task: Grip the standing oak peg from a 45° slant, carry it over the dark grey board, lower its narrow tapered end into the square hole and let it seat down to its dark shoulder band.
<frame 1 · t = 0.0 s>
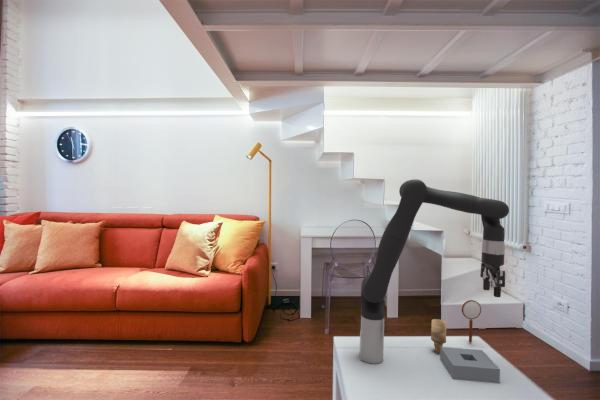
hand: (491, 293, 121), 29 cm above the table, tool pointing down, fingers open, 8 cm apart
board: (467, 370, 120), on the table
magnifying glass: (470, 344, 141), on the table
peg: (438, 351, 133), on the table
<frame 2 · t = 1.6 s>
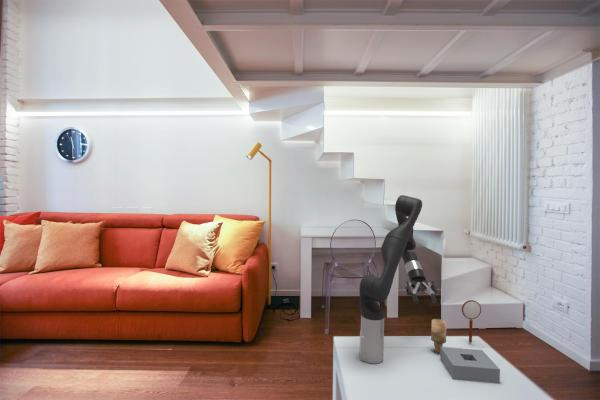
hand: (426, 302, 144), 17 cm above the table, tool tilted 45°, fingers open, 8 cm apart
nothing on the table moved.
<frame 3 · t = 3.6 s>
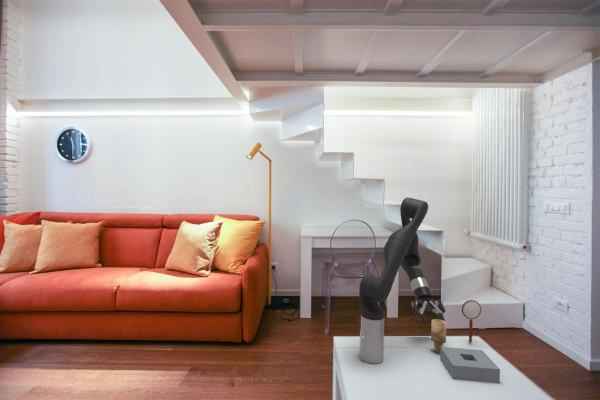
hand: (434, 323, 137), 11 cm above the table, tool tilted 45°, fingers open, 8 cm apart
nothing on the table moved.
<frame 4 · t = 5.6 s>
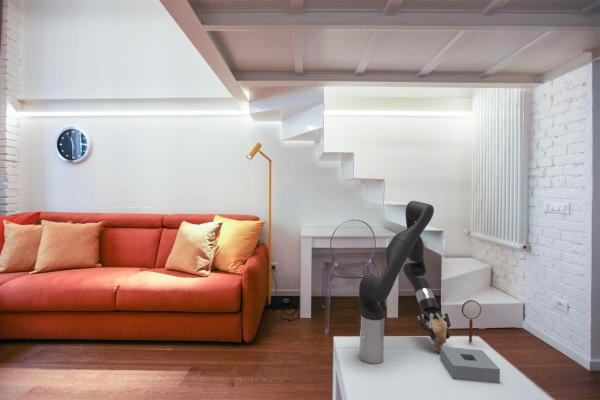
hand: (441, 338, 132), 7 cm above the table, tool tilted 45°, fingers closed on peg, 5 cm apart
peg: (438, 351, 133), on the table, touching gripper
everything else where it was.
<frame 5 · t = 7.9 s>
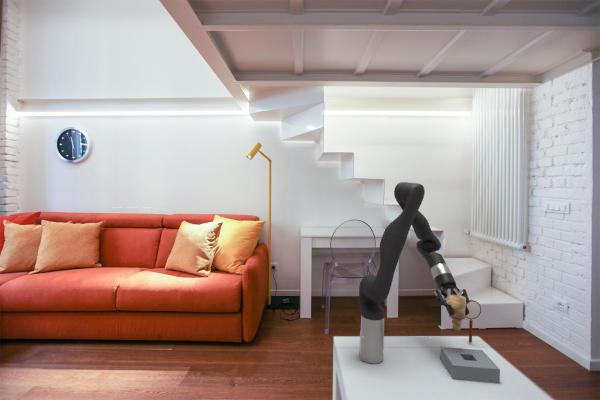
hand: (460, 314, 123), 20 cm above the table, tool tilted 45°, fingers closed on peg, 5 cm apart
peg: (456, 329, 125), point 13 cm above the table, touching gripper
everything else where it was.
when the fingers open (10 cm above the table, at t = 10.5 s): peg drops 3 cm, resting on board.
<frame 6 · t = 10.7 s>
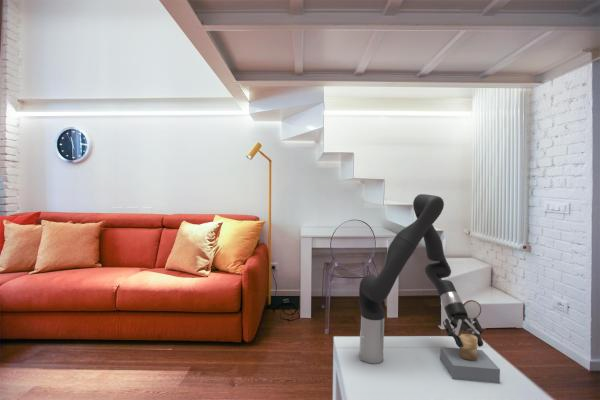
hand: (471, 346, 118), 10 cm above the table, tool tilted 45°, fingers open, 8 cm apart
peg: (467, 370, 120), resting on board
everything else where it was.
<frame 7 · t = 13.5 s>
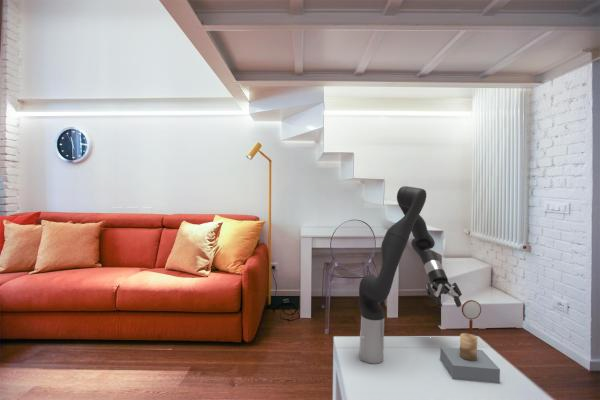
hand: (450, 306, 131), 20 cm above the table, tool tilted 45°, fingers open, 8 cm apart
nothing on the table moved.
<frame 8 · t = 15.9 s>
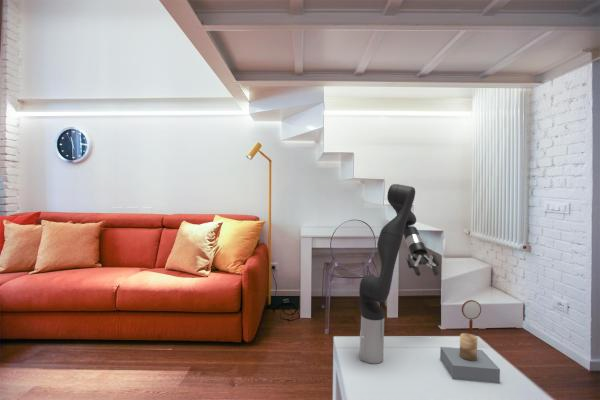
hand: (428, 275, 142), 31 cm above the table, tool tilted 45°, fingers open, 8 cm apart
nothing on the table moved.
at the end: peg 0.1 cm off-centre on the board, point 0.0 cm above the board's base; peg tilted 0°; the gripper is holding nothing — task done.
